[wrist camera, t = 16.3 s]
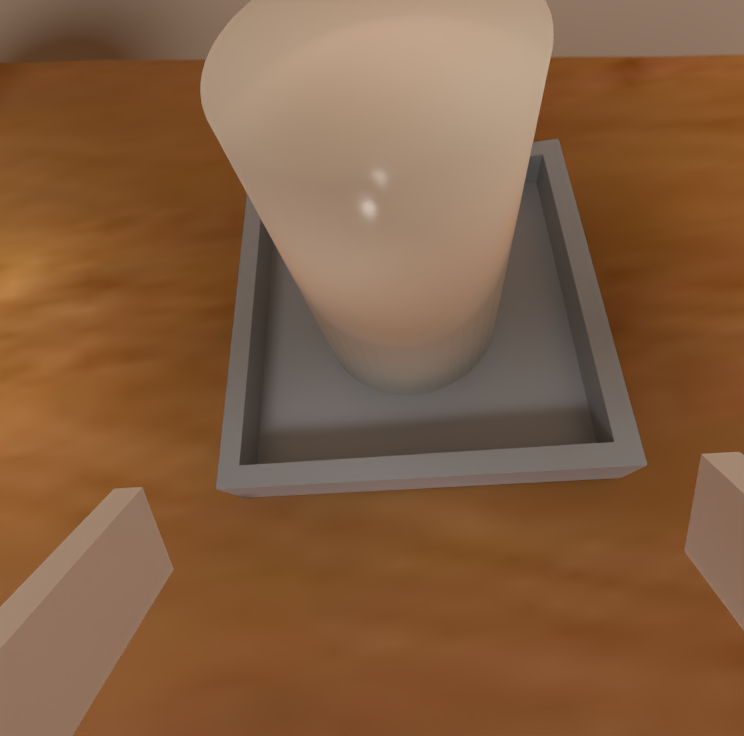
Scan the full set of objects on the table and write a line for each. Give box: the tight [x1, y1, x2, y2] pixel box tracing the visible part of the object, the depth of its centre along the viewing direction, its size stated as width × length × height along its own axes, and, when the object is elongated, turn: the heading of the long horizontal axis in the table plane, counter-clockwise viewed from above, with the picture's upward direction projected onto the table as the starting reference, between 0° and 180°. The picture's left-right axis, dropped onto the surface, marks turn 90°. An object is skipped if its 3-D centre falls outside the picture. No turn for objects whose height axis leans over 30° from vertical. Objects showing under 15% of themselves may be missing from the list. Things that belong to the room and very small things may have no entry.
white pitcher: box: [200, 0, 554, 395], centre depth 18 cm, size 9×12×14 cm
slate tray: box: [216, 138, 647, 498], centre depth 24 cm, size 18×18×3 cm
